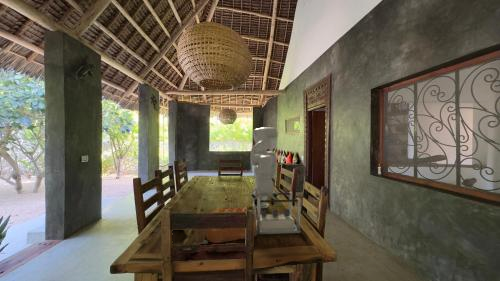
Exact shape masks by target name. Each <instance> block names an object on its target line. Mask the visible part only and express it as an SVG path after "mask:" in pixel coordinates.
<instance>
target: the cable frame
mask: <svg viewBox="0 0 500 281" xmlns="http://www.w3.org/2000/svg"><path fill="white" fill-rule="evenodd" d="M275 193H276V192H273V196H274V194H275ZM253 195H254V196H255V195H256V192H253ZM277 196H288V197H289V198H288V199H274V200H271V199H267V200H261V199H257V208H256V205H255V204H254V198H253V197H252V199H253V203H252V204H253V206H252V210H253V209H254V215H255V222H256V227H257V235H273V234H274V235H275V234H277V235H279V234H280V235H281V234H301V198H300V197H297V198H296V199H293V191H289V192H279V193H278V195H277ZM261 202H267V203H271V202H274V203H288V209H289V214H290V215H291V217H292V218H293V203H296V224H295V223H294V229H282V230H260V215H261V208H260V203H261Z"/></svg>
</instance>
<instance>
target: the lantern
mask: <svg viewBox="0 0 500 281" xmlns="http://www.w3.org/2000/svg"><path fill="white" fill-rule="evenodd" d="M181 213H191V214H192V212H191V210H188V211H183V212H181ZM202 229H203V228H202ZM202 229H194V228H193V231H194V237H195V242H194V243H193V244H204V245H207V244H209V240H208V239H207V240H204V233H203V230H202Z"/></svg>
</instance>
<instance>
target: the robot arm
mask: <svg viewBox="0 0 500 281" xmlns="http://www.w3.org/2000/svg"><path fill="white" fill-rule="evenodd" d="M278 133H279V132H278V130H277V128H276V127H272V126H271V127H267V126H266V127H264V126H262V127H259V128H254V129H253V131H252V136H253V137H252V138H253V140H254V142H255V144H254V145H253V147H252V148H251V150H250V156H249V157H250V160H249V161H250V165H251V166H253V167H254V168H253V174H254V189H251V190H250V191H249V193H250V195H251V197H252V199H253V198H254V204H255V205H256V209H257V199H261V200H268V197H271V198H270V200H276V198H277V197H278V196H279V195H278V193H280V191H279V190H277V189H275V188H274V184H273V183H274V182H273V178H276V177H277V175H278V174H277V172H278V171H277V170H278V169H277V168H278V166H277V165H278V164H277V163H278V162H277V160H278V159H277V153H276V152H275V151H271V150H270V151H269V150H268V148H269V147H270V145H271V144H270V141H275V140H277V139H278ZM254 192H256V195H255V196H254ZM273 193H275V194H274V195H273ZM274 204H275V202H270V204H269V203H268V202H261V203H260V209H267V208H269V205H271V206H272V207H273V206H274ZM251 205H252V207H253V203H252V204H251Z"/></svg>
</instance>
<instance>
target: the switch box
mask: <svg viewBox="0 0 500 281" xmlns="http://www.w3.org/2000/svg"><path fill="white" fill-rule="evenodd" d="M266 215H267V217H261V214H260V230H282V229H294V224H295V219H294V218H293V216H292V217H291V215H290V214H289V216H284V213H278V217H273V213H272V214H270V213H269V214H266Z"/></svg>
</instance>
